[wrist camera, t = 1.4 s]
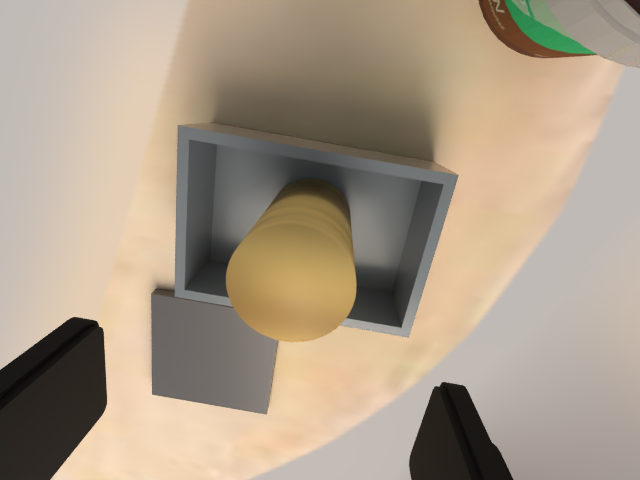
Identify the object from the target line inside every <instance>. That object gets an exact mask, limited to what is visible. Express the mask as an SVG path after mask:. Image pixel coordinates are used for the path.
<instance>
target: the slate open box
mask: <svg viewBox="0 0 640 480" xmlns="http://www.w3.org/2000/svg"><path fill="white" fill-rule="evenodd" d="M458 176H459V175H458V174H456V173H454V172H452V171H450V170H448V169H447V168H445V167H443V166H441V165H439V164H437V163H436V162H433V161H427V160H421V159H416V158H410V157H404V156H399V155H393V154H387V153H382V152H376V151H370V150H365V149H359V148H353V147H348V146H342V145H337V144H331V143H325V142H320V141H314V140H308V139H303V138H297V137H291V136H286V135H280V134H274V133H269V132H263V131H257V130H252V129H246V128H241V127H235V126H229V125H224V124H218V123H212V122H211V123H199V124H188V125H178V144H177V196H176V248H175V297H179V298H185V299H191V300H197V301H202V302H208V303H214V304H219V305H225V306H231V307H233V306H232V304H231V302H230V299H229V296H228V293H227V287H226V273H227V267H228V264H229V261H230V259H231V257H232V255H233V253H234V252H235V250H236V249H237V247H238V246H239V245H240V243H241V242H242V241H243V239H244V238H245V237H246V235H247V234H248V233H249V231H250V230H251V229H252V228H253V226H254V225H255V224H256V222H257V221H258V220H259V218H260V217H261V216H262V214H263V213H264V212H265V210H266V209H267V208H268V207H269V205H270V204H271V203H272V201H273V200H274V199H275V197H276V196H277V195H278V193H279V192H280V191H281V190H282V189H283V188H284V187H286V186H287V185H289V184H290V183H292V182H294V181H297V180H301V179H311V178H312V179H319V180H322V181H325V182H328V183H329V184H331V185H333V186H334V187H336V188H337V189H338V190H339V191H340V192H341V193H342V195H343V196H344V197H345V199H346V201H347V203H348V206H349V209H350V215H351V227H352V238H353V250H354V261H355V273H356V297H355V301H354V304H353V307H352V309H351V311H350V313H349V314H348V316H347V317H346V319H345V320H344V321H343V322H342V323H341V325H339V326H345V327H351V328H356V329H362V330H368V331H373V332H379V333H385V334H391V335H396V336H402V337H408V338H409V335H410V332H411V328H412V325H413V322H414V319H415V315H416V312H417V309H418V306H419V302H420V299H421V296H422V293H423V289H424V286H425V283H426V280H427V276H428V273H429V270H430V267H431V263H432V260H433V257H434V254H435V250H436V247H437V244H438V241H439V237H440V234H441V231H442V228H443V224H444V221H445V218H446V215H447V211H448V208H449V205H450V202H451V198H452V195H453V192H454V189H455V185H456V182H457V179H458Z"/></svg>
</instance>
